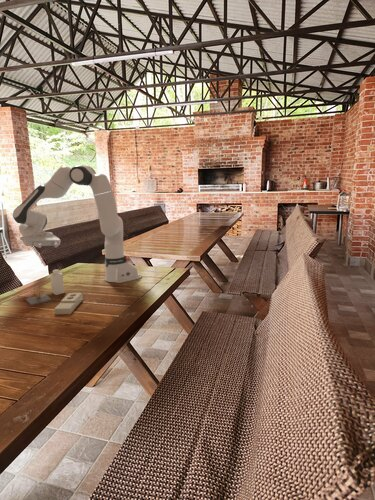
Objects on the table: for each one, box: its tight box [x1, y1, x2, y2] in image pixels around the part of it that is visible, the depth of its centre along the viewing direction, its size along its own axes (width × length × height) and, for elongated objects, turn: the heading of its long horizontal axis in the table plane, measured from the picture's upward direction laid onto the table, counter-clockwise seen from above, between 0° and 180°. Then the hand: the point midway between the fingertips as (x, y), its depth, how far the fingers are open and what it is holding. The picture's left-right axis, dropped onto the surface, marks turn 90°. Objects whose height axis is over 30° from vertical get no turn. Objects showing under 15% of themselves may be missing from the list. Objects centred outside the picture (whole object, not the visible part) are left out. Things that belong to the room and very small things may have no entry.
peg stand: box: [25, 285, 53, 307], centre depth 162 cm, size 10×10×8 cm
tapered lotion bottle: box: [49, 269, 66, 296], centre depth 171 cm, size 5×5×13 cm
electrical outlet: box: [53, 292, 84, 315], centre depth 153 cm, size 7×4×18 cm
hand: (48, 246), depth 175 cm, fingers open, 8 cm apart
